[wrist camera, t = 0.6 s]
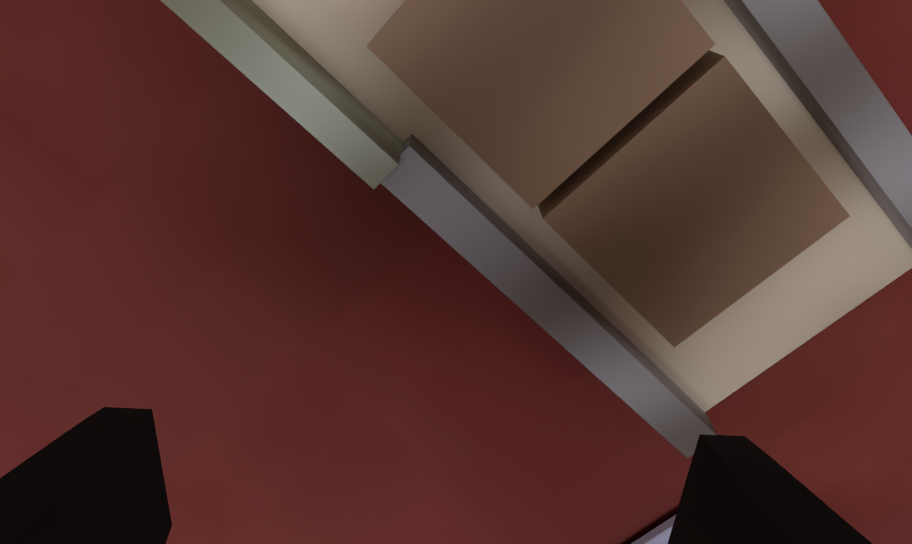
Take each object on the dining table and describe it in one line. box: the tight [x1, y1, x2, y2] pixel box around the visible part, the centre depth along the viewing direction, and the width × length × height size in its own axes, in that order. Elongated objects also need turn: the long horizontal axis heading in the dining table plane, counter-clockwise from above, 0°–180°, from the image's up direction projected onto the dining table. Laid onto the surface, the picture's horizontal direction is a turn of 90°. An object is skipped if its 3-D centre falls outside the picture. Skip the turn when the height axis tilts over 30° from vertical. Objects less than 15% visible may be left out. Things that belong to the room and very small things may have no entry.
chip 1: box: [538, 50, 850, 348], centre depth 15 cm, size 4×4×3 cm
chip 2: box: [367, 0, 715, 209], centre depth 13 cm, size 4×4×3 cm
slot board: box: [161, 0, 912, 458], centre depth 14 cm, size 22×9×3 cm, turn 45°
